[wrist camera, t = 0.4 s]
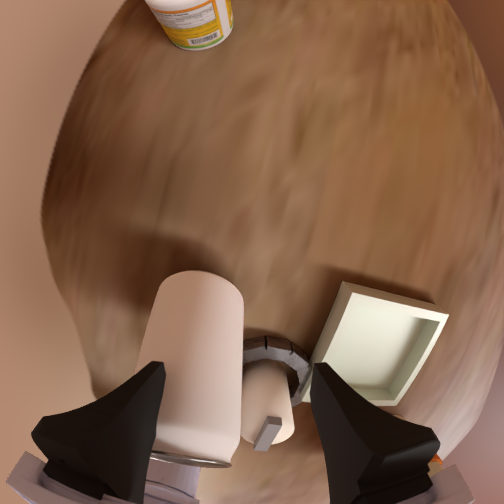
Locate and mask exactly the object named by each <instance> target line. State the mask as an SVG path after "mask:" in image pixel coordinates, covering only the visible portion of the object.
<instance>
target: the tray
mask: <svg viewBox="0 0 504 504" xmlns="http://www.w3.org/2000/svg"><path fill="white" fill-rule="evenodd" d="M448 316H449V314H447V313H446V312H445V311H443V310H442V309H441V308H440V307H438V306H437V305H436V304H432V303H428V302H424V301H420V300H416V299H412V298H408V297H404V296H401V295H397V294H393V293H389V292H385V291H381V290H377V289H373V288H369V287H365V286H361V285H357V284H353V283H349V282H345V281H342V283H341V286H340V288H339V291H338V294H337V296H336V299H335V301H334V304H333V306H332V309H331V311H330V314H329V316H328V319H327V321H326V323H325V326H324V328H323V331H322V333H321V335H320V338H319V340H318V342H317V344H316V347H315V349H314V351H313V353H312V355H311V358H310V360H309V364H310V367H311V372H312V373H313V365H314V363H321V362H327V363H328V364H329V365H330V366H331V367H332V369H333V370H334V371H335V372H336V373H337V374H338V375H339V376H340V377H341V378H342V379H343V380H344V381H345V382H346V383H347V384H348V385H349V386H350V387H352V388H353V389H354V390H355V391H356V392H357V393H359V394H360V395H361V396H362V397H364V398H365V399H366V400H368V401H369V402H371V403H372V404H374V405H375V406H396V405H397V404H398V402H399V401H400V399H401V398H402V397H403V395H404V394H405V392H406V391H407V389H408V388H409V386H410V385H411V383H412V382H413V380H414V379H415V377H416V375H417V374H418V372H419V370H420V369H421V367H422V365H423V364H424V362H425V360H426V359H427V357H428V355H429V353H430V352H431V350H432V348H433V346H434V344H435V342H436V340H437V339H438V337H439V335H440V333H441V331H442V329H443V327H444V325H445V323H446V320H447V318H448ZM312 373H311V375H310V377H309V379H308V381H307V382H306V384H305V386H304V388H303V390H302V392H301V394H300V397H301V401H302V402H311V401H310V394H309V393H310V386H311V380H312Z"/></svg>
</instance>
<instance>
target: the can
mask: <svg viewBox="0 0 504 504" xmlns="http://www.w3.org/2000/svg"><path fill="white" fill-rule="evenodd" d="M243 316H244V304H243V298H242V296H241V294H240V292H239V291H238V289H237V288H236V287H235V286H234V285H233V284H231V283H230V282H229V281H228V280H226V279H225V278H223V277H221V276H219V275H217V274H214V273H211V272H207V271H201V270H188V271H182V272H179V273H176V274H173V275H171V276H169V277H168V278H166V279H165V280H164V281H163V282H162V283H161V285H160V287H159V289H158V292H157V295H156V298H155V301H154V304H153V307H152V311H151V314H150V317H149V321H148V324H147V328H146V331H145V335H144V338H143V342H142V346H141V349H140V353H139V357H138V361H137V365H136V369H135V373H134V375H135V374H136V373H137V372H139V371H140V370H141V369H142V368H143V367H145V366H146V365H147V364H148V363H150V362H151V361H160V362H164V367H165V371H166V379H165V385H164V391H163V396H162V401H161V405H160V409H159V414H158V418H157V426H156V438H155V441H154V444H153V447H152V451H151V456H150V458H151V459H155V460H159V461H164V462H169V463H174V464H180V465H187V466H195V467H207V468H229V467H231V466H232V465H231V464H230V460H231V457H232V455H233V453H234V452H235V450H236V448H237V446H238V444H239V441H240V429H241V395H242V357H243Z"/></svg>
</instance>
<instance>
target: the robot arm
mask: <svg viewBox="0 0 504 504" xmlns="http://www.w3.org/2000/svg"><path fill="white" fill-rule="evenodd" d="M165 379H166V371H165V367H164V362H160V361H151V362H150V363H148V364H147V365H146V366H145V367H143V368H142V369H141V370H140V371H139V372H137V373H136V374H135V375H134V376H132V377H131V378H130V379H129V380H127V381H126V382H125V383H123V384H122V385H121V386H119V387H118V388H116V389H115V390H113V391H112V392H110V393H109V394H107V395H105V396H104V397H102V398H100V399H98V400H96V401H95V402H92V403H90V404H88V405H85V406H83V407H80V408H78V409H75V410H72V411H69V412H65V413H61V414H56V415H51V416H44V417H43V418H42V419H41V420H40V421H39V423H38V424H37V426H36V427H35V428H34V430H33V431H32V432H31V435H32V438H33V441H34V442H35V444H36V445H37V446H38V448H39V449H40V450H41V451H42V452H43V454H44V455H45V456H46V457H47V458H48V462H47V463H44V462H43V461H42V460H40V459H39V458H37V457H35V456H34V455H32V454H30V453H28V452H26V451H25V452H24V454H23V455H22V457H21V458H20V460H19V461H18V463H17V464H16V466H15V467H14V469H13V471H12V472H11V474H10V475H9V477H8V478H7V480H6V483H7V484H8V485H9V486H10V487H11V488H12V489H13V490H14V491H15V492H17V493H18V494H19V495H20V496H21V497H22V498H24V499H25V500H26V501H27V502H28V503H30V504H199V502H200V500H197V499H196V492H197V486H198V480H199V474H200V468H201V467H195V466H187V465H180V464H174V463H169V462H164V461H159V460H155V459H151V458H150V456H151V451H152V447H153V444H154V441H155V438H156V426H157V418H158V414H159V409H160V405H161V401H162V396H163V391H164V385H165ZM309 394H310V401H311V407H312V412H313V415H314V419H315V422H316V425H317V429H318V432H319V435H320V439H321V442H322V445H323V450H324V455H325V461H326V468H327V475H328V483H329V493H330V504H471V503H472V502H474V500H475V499H474V496H473V495H472V493H471V491H470V489H469V487H468V485H467V483H466V482H465V480H464V478H463V476H462V475H461V473H460V471H459V469H458V467H457V466H456V465H452V466H450V467H448V468H446V469H444V470H442V471H440V472H438V473H436V474H434V475H433V476H431V477H429V475H428V472H429V471H430V468H429V466H428V463H429V462H430V461H431V460H432V458H433V457H434V456H435V454H436V453H437V451H438V450H439V448H440V442H439V440H438V438H437V436H436V435H435V433H434V432H433V430H432V429H431V428H429V427H425V426H421V425H417V424H414V423H411V422H408V421H405V420H403V419H400V418H398V417H396V416H393V415H391V414H389V413H387V412H385V411H384V410H382V409H380V408H378V407H377V406H375V405H374V404H372V403H371V402H369V401H368V400H366V399H365V398H364V397H362V396H361V395H360V394H359V393H357V392H356V391H355V390H354V389H353V388H352V387H350V386H349V385H348V384H347V383H346V382H345V381H344V380H343V379H342V378H341V377H340V376H339V375H338V374H337V373H336V372H335V371H334V370H333V369H332V367H331V366H330V365H329V364H328V363H327V362H321V363H314V365H313V373H312V380H311V386H310V393H309Z"/></svg>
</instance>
